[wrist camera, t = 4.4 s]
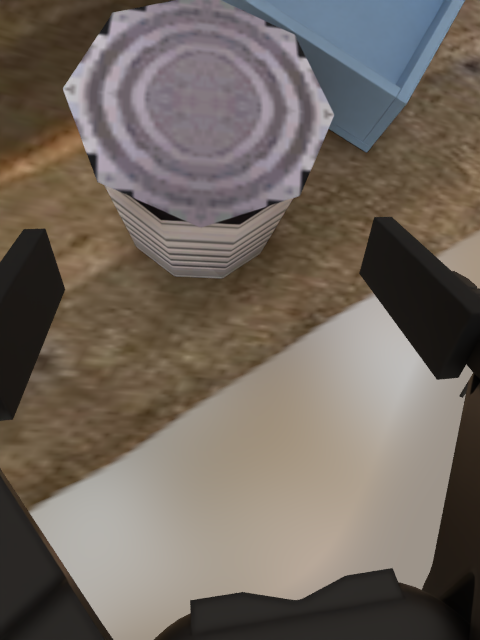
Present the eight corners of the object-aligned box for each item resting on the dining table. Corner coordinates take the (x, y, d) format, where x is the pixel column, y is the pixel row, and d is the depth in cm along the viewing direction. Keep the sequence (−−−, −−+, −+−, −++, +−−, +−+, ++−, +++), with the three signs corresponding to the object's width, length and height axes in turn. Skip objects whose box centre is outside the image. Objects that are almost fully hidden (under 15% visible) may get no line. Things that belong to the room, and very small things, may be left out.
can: (98, 249, 27) (20, 160, 15) (155, 113, 28) (125, -66, 16) (247, 303, 27) (287, 260, 16) (294, 168, 29) (362, 36, 17)
